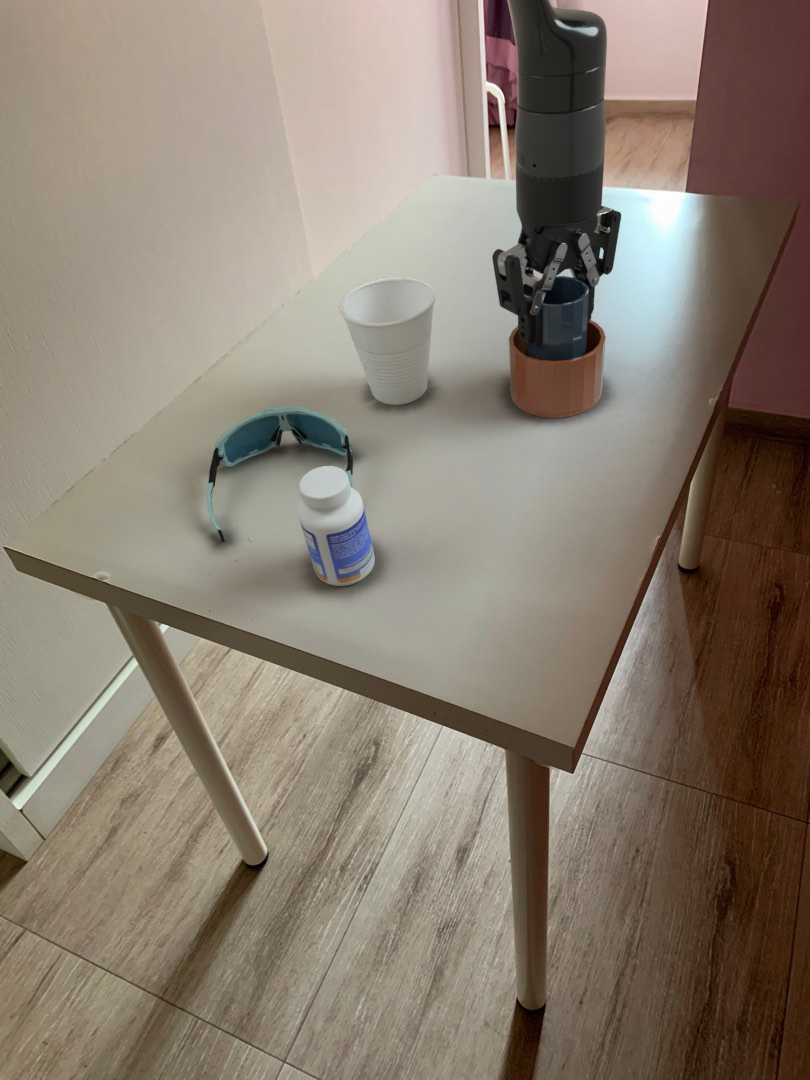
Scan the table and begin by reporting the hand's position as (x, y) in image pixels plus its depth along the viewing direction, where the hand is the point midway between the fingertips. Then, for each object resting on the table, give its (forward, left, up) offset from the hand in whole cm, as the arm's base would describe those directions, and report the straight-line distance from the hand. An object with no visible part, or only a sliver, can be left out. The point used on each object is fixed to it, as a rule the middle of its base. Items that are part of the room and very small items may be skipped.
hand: (556, 330), depth 81 cm
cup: (+12, +12, -7) cm, 19 cm away
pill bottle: (-7, +31, -7) cm, 33 cm away
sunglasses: (+6, +30, -7) cm, 31 cm away
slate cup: (0, 0, -4) cm, 4 cm away
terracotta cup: (0, 0, -7) cm, 7 cm away
